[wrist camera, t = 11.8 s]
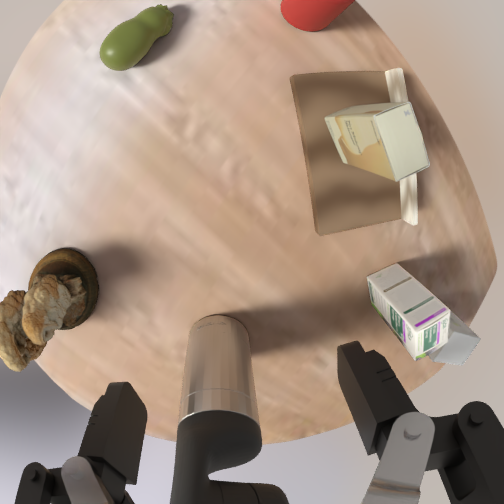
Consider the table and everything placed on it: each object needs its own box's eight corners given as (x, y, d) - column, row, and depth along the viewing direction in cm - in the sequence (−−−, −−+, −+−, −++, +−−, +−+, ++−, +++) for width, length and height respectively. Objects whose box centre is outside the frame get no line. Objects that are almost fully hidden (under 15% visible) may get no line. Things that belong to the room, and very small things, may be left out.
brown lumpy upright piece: (68, 342, 42) (29, 412, 27) (21, 299, 39) (-31, 358, 23) (116, 282, 39) (66, 363, 23) (58, 228, 35) (-16, 284, 19)
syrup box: (365, 276, 42) (413, 333, 28) (397, 261, 41) (452, 311, 28) (370, 304, 44) (414, 363, 30) (401, 289, 43) (450, 342, 30)
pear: (85, 47, 22) (150, -10, 21) (98, 62, 27) (154, 10, 26) (115, 70, 23) (183, 10, 23) (126, 83, 28) (183, 30, 28)
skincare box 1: (322, 117, 31) (370, 111, 19) (352, 105, 30) (409, 97, 19) (343, 166, 33) (396, 184, 22) (372, 152, 32) (432, 166, 21)
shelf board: (400, 213, 38) (419, 224, 33) (315, 231, 38) (327, 244, 33) (384, 73, 30) (403, 68, 26) (289, 78, 30) (299, 69, 26)
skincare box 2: (452, 308, 47) (482, 339, 37) (435, 334, 49) (461, 367, 39) (422, 297, 45) (455, 331, 35) (403, 327, 47) (431, 363, 37)
